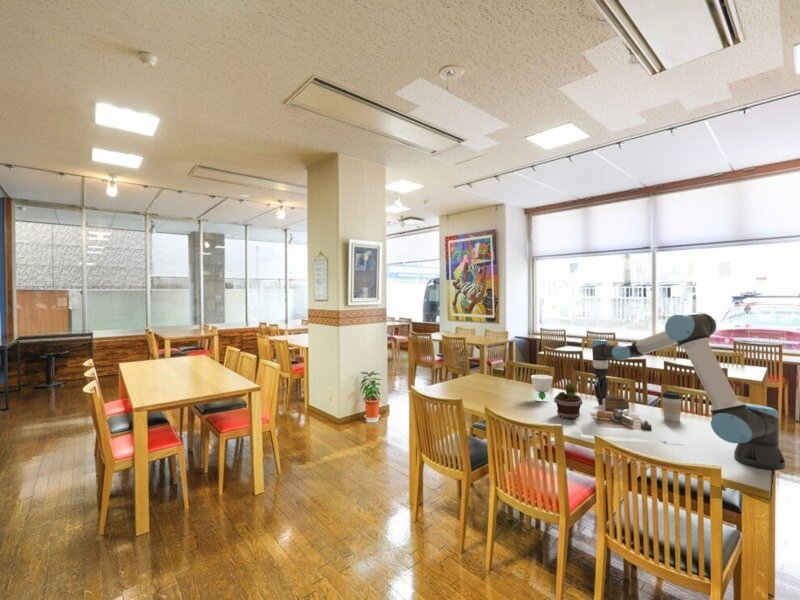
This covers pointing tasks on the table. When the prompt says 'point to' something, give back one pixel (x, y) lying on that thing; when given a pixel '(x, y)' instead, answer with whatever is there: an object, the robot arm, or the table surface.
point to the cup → (541, 384)
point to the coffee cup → (671, 406)
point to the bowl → (615, 403)
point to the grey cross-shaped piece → (616, 416)
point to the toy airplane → (622, 423)
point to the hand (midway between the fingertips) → (601, 410)
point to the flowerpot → (568, 403)
